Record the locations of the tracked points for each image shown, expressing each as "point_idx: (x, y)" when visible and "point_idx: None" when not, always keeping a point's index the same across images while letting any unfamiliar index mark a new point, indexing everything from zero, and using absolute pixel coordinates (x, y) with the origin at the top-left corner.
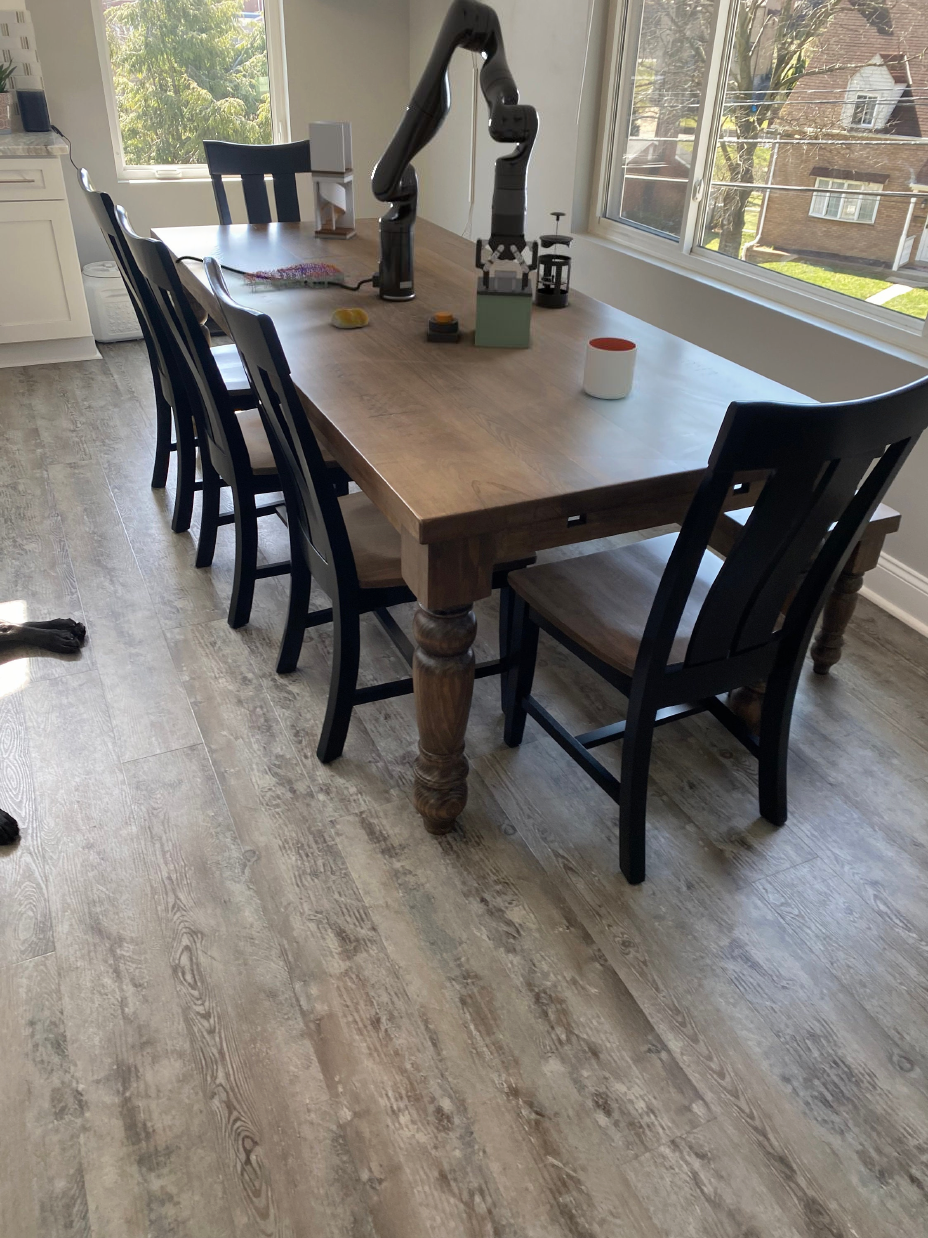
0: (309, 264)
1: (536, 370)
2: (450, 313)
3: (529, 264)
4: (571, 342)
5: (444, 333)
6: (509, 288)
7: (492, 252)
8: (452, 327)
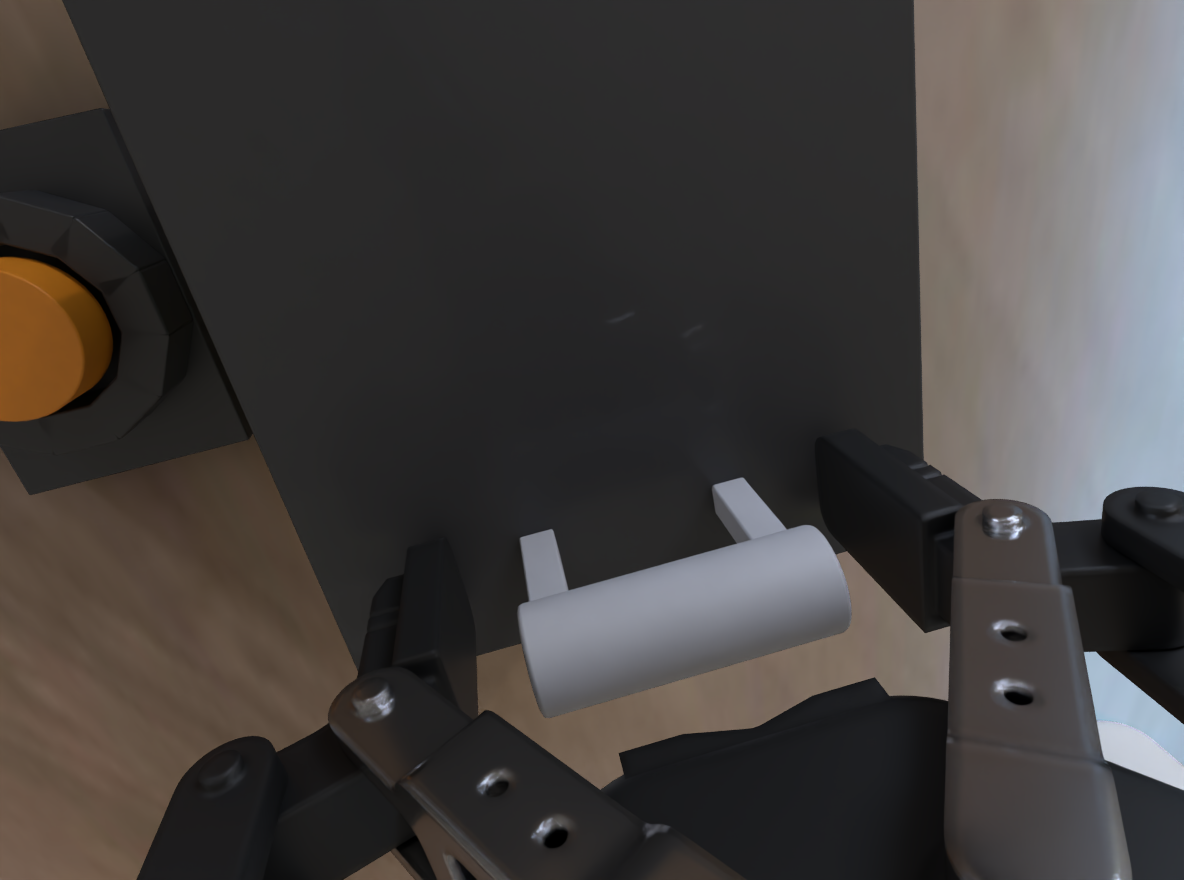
0: None
1: (798, 668)
2: (50, 315)
3: (1091, 584)
4: (987, 108)
5: (147, 448)
6: (675, 439)
7: (474, 871)
8: (168, 393)
